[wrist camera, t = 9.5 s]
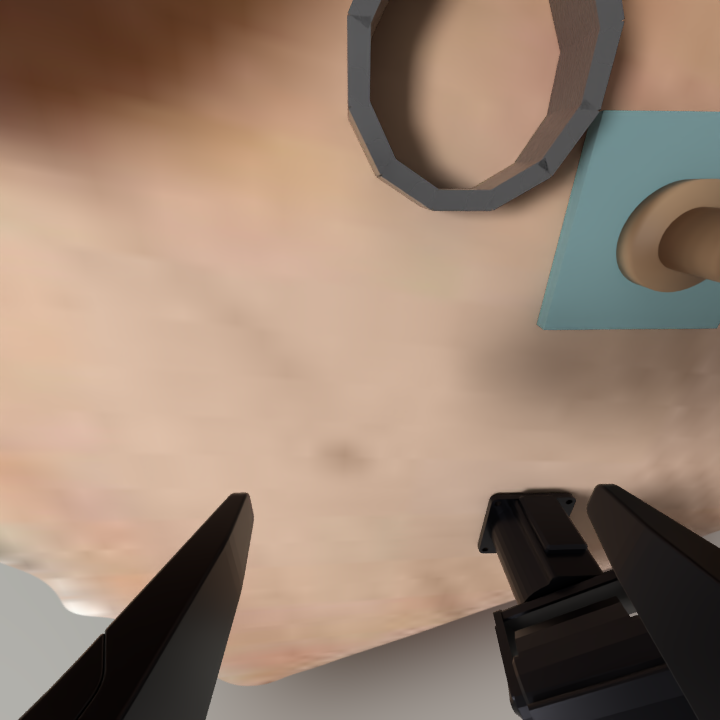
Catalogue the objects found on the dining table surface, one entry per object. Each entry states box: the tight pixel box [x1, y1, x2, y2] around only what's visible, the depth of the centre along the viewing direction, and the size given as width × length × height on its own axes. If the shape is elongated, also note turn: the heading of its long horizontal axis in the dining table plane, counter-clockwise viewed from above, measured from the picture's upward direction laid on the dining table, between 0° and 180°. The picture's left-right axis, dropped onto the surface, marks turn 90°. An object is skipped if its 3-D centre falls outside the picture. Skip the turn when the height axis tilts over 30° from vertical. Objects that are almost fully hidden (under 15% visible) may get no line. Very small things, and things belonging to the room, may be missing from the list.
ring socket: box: [347, 0, 625, 211], centre depth 13 cm, size 10×10×2 cm
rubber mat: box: [537, 110, 720, 330], centre depth 17 cm, size 10×10×1 cm
